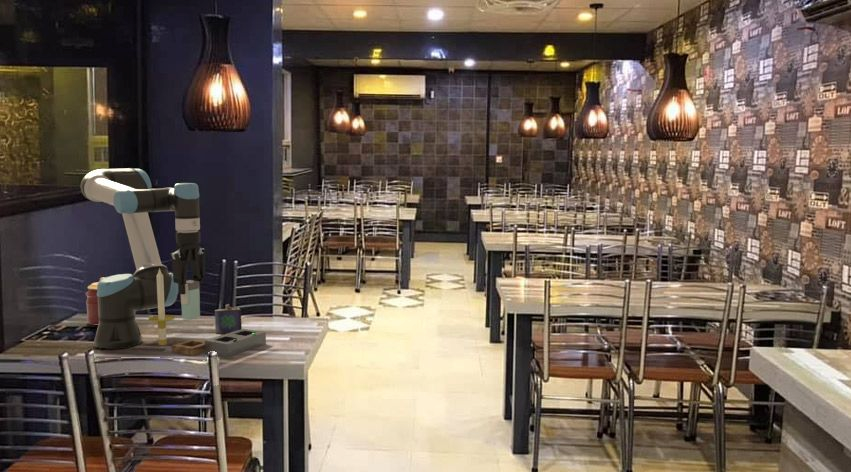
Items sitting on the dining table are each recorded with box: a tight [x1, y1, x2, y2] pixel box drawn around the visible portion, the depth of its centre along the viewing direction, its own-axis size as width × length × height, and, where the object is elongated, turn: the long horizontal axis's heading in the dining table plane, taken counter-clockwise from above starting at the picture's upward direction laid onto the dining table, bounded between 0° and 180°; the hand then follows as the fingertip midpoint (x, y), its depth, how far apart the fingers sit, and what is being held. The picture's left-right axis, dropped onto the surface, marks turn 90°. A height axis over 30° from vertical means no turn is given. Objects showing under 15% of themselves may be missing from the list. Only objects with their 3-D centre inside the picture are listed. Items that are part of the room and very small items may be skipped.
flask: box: [214, 303, 243, 336], centre depth 268 cm, size 9×3×11 cm, turn 105°
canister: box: [85, 276, 106, 324], centre depth 285 cm, size 13×13×18 cm
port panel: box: [203, 328, 267, 358], centre depth 245 cm, size 10×18×5 cm, turn 151°
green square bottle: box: [180, 279, 201, 320], centre depth 241 cm, size 4×4×12 cm
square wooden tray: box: [171, 338, 205, 357], centre depth 243 cm, size 9×9×3 cm
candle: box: [148, 268, 176, 346], centre depth 250 cm, size 10×10×27 cm
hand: (190, 302), depth 241 cm, fingers closed on green square bottle, 4 cm apart
